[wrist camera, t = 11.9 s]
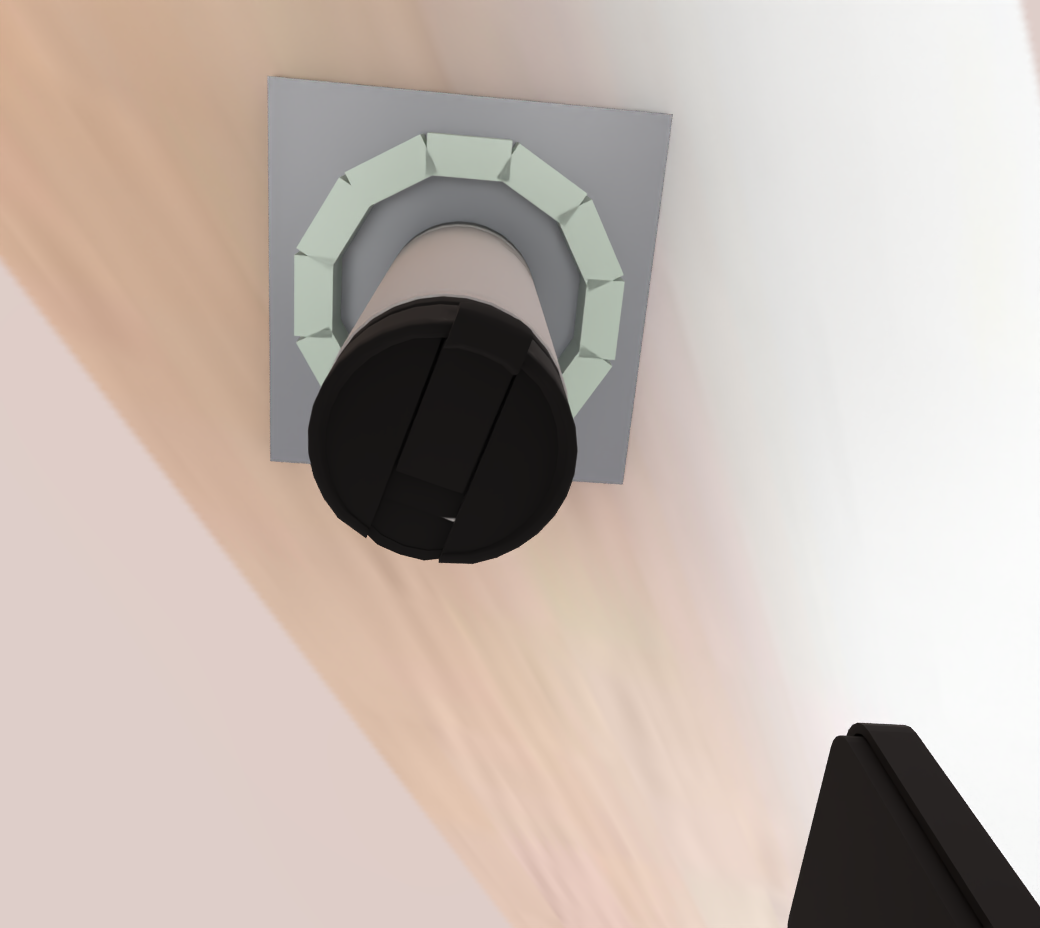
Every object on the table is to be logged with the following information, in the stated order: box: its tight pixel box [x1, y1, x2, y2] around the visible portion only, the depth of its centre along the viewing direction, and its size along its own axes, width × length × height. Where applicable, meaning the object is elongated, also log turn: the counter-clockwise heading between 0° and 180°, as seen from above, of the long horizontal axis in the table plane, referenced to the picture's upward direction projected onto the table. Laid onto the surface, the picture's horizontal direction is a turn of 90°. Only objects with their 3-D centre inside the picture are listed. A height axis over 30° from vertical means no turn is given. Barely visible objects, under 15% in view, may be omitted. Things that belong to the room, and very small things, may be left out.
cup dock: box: [268, 76, 673, 484], centre depth 38 cm, size 16×16×4 cm
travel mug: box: [308, 221, 578, 564], centre depth 30 cm, size 6×7×20 cm
